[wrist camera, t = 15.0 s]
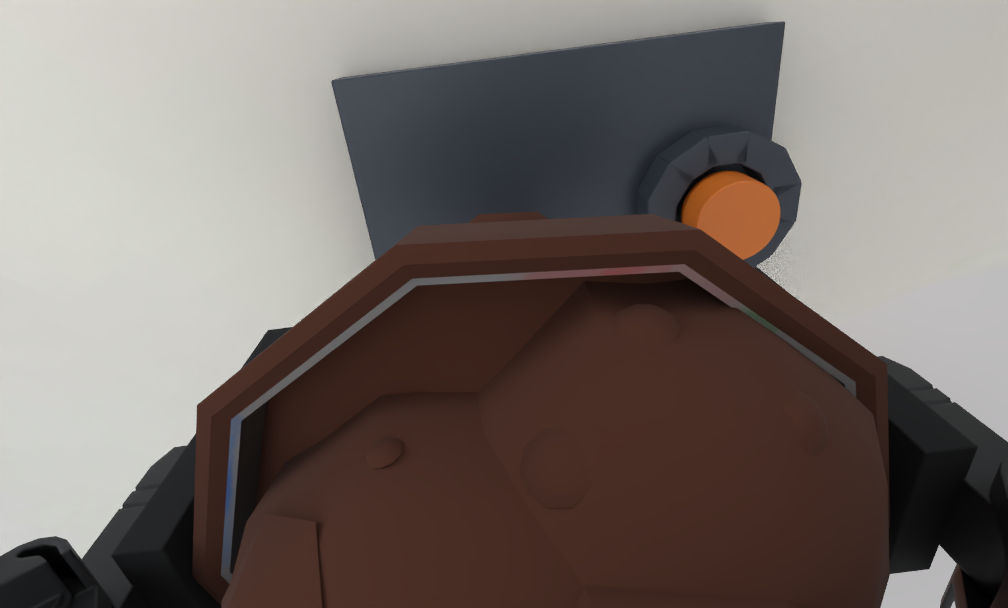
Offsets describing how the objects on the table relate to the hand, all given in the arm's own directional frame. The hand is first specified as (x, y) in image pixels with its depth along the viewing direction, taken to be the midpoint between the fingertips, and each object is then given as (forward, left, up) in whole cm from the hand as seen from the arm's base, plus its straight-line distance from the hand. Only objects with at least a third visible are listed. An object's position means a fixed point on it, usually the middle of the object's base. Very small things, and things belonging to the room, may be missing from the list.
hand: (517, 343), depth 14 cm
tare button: (-9, 0, -8) cm, 12 cm away
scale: (-3, 0, -11) cm, 11 cm away
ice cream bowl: (0, 0, -3) cm, 3 cm away
